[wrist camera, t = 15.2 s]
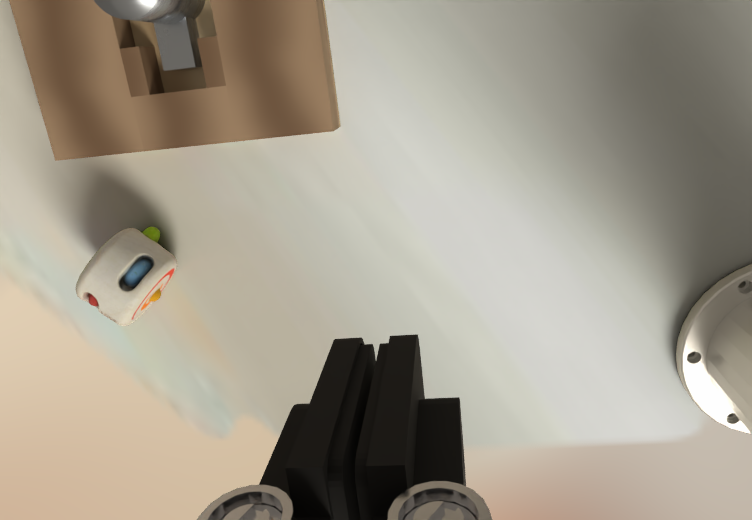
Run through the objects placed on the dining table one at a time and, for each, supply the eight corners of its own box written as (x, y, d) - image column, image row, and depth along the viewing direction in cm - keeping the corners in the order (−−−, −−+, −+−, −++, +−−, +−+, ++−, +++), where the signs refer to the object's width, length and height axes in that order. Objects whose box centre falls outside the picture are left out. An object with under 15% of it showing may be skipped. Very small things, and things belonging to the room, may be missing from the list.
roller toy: (199, 250, 41) (161, 280, 35) (155, 314, 43) (114, 351, 37) (145, 212, 40) (99, 236, 35) (104, 278, 42) (54, 311, 37)
